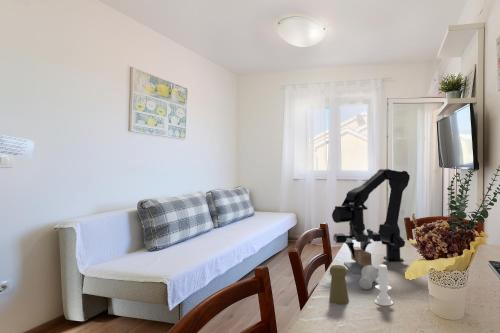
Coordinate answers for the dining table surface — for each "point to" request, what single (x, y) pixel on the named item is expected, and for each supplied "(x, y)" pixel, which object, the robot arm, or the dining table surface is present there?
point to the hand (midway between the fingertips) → (357, 257)
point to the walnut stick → (361, 257)
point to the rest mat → (354, 267)
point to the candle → (383, 287)
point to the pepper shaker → (338, 285)
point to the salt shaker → (368, 277)
